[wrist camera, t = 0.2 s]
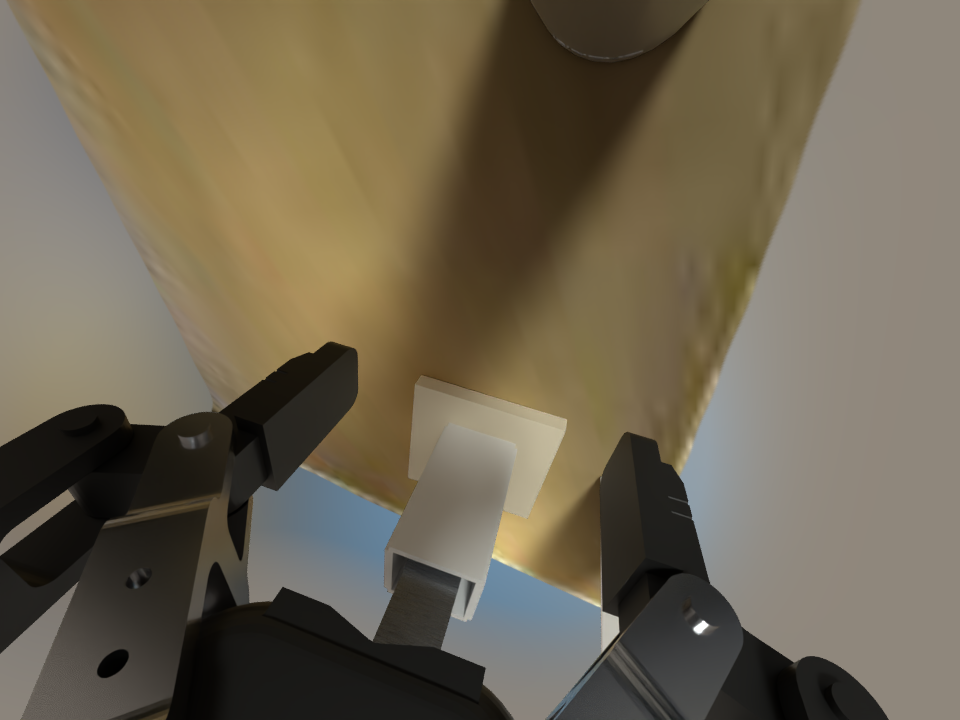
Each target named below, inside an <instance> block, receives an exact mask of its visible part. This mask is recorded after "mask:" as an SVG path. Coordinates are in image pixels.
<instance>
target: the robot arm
mask: <svg viewBox="0 0 960 720" xmlns="http://www.w3.org/2000/svg"><path fill="white" fill-rule="evenodd" d="M530 1H531V3H532V5H533V6H534V8H535V10H536V11H537V13H538V15H539V16H540V18H541V20H542V21H543V23H544V25H545V26H546V28H547V30H548V31H549V32H550V33H551V34H552V35H553V37H554V38H555V39H556V40H557V41H558V42H559V44H560V45H561V46H563V47H564V48H566V49H567V50H569V51H570V52H572V53H573V54H575V55H576V56H579V57H582V58H585V59H588V60H591V61H594V62H617V61H622V60H627V59H632V58H635V57H637V56H639V55H641V54H643V53H646V52H648V51H650V50H652V49H654V48H656V47H657V46H658V45H660V44H661V43H663V42H664V41H665V40H667V39H668V38H670V37H671V36H673V35H674V34H675V33H676V32H677V31H678V30H679V29H680V28H681V27H682V26H683V25H684V24H685V23H686V22H687V21H688V20H689V19H690V18H691V17H692V16H693V15H694V14H695V13H696V12H697V11H698V10H700V9H701V8H702V7H703V6H704V5H705V4H706V3H707V2H708V1H709V0H530ZM357 393H358V355H357V351H356V349H354V348H351V347H348V346H345V345H341V344H338V343H335V342H328V343H326V344H325V345H324V346H322V347H321V348H320V349H318V350H317V351H316V352H315V353H310V352H308V353H306V354H303V355H300V356H298V357H295V358H292V359H290V360H289V361H288V362H286V363H285V364H284V365H282V366H281V367H280V368H278V369H277V371H276V372H275V371H274V372H273V373H271V374H270V375H269V376H267V377H266V379H265V380H262V381H261V382H259V383H258V384H257V385H255V386H254V387H253V388H251V389H250V390H248V391H247V392H246V393H244V394H243V395H242V396H240V397H239V398H238V399H236V400H235V401H234V402H232V403H231V404H230V405H228V406H227V407H226V408H224V409H223V410H221V411H220V412H219V413H216V412H199V413H194V414H190V415H186V416H183V417H181V418H179V419H176V420H175V421H173V422H171V423H170V424H168V425H167V426H155V425H137V424H130V423H129V421H128V419H127V417H126V415H125V413H124V412H123V410H122V409H120V408H119V407H116V406H113V405H106V404H98V405H88V406H83V407H79V408H75V409H72V410H69V411H66V412H63V413H61V414H59V415H57V416H55V417H53V418H51V419H49V420H47V421H46V422H44V423H42V424H40V425H39V426H37V427H35V428H33V429H31V430H29V431H28V432H26V433H24V434H22V435H21V436H19V437H17V438H15V439H13V440H12V441H10V442H8V443H6V444H4V445H3V446H1V447H0V543H1V541H2V539H3V538H4V537H5V536H6V534H8V533H9V532H10V531H11V530H12V529H13V528H14V527H16V526H17V525H19V524H20V523H21V522H23V521H24V520H26V519H27V518H28V517H30V516H31V515H32V514H34V513H35V512H37V511H38V510H39V509H40V508H42V507H44V506H45V505H46V504H48V503H49V502H51V501H52V500H53V499H55V498H56V497H57V496H59V495H60V494H62V493H63V492H64V491H66V490H67V489H68V490H69V492H70V493H71V494H72V496H73V497H74V499H75V500H74V501H73V502H71V503H70V504H69V505H67V506H66V507H65V508H63V509H62V510H61V511H59V512H58V513H57V514H56V515H54V516H53V517H51V518H50V519H49V520H47V521H46V522H45V523H43V524H42V525H41V526H39V527H38V528H37V529H36V530H34V531H33V532H31V533H30V534H29V535H28V536H26V537H25V538H24V539H22V540H21V541H20V542H18V543H17V544H16V545H14V546H13V547H12V548H10V549H9V550H8V551H6V552H5V553H4V554H2V555H1V556H0V653H1V652H2V651H4V650H5V649H6V648H7V647H8V646H9V645H10V644H11V643H12V642H13V641H14V640H15V639H16V638H18V637H19V636H20V635H21V634H22V633H23V632H24V631H25V630H26V629H27V628H28V627H29V626H31V625H32V624H33V623H34V622H35V621H36V620H37V619H38V618H39V617H40V616H41V615H42V614H44V613H45V612H46V611H47V610H48V609H49V608H50V607H51V606H52V605H53V604H54V603H55V602H57V601H58V600H59V599H60V598H61V597H62V596H63V595H64V594H65V593H66V592H67V591H68V590H70V589H71V588H72V587H73V586H74V585H75V584H76V583H77V582H78V581H79V582H78V584H77V587H76V589H75V592H74V594H73V596H72V599H71V601H70V604H69V606H68V608H67V611H66V613H65V616H64V618H63V620H62V623H61V625H60V627H59V630H58V632H57V635H56V637H55V639H54V642H53V644H52V647H51V649H50V651H49V654H48V656H47V659H46V661H45V663H44V666H43V668H42V670H41V673H40V675H39V678H38V680H37V682H36V685H35V687H34V690H33V692H32V694H31V697H30V699H29V702H28V704H27V706H26V709H25V711H24V714H23V717H22V718H21V720H514V719H513V717H512V716H511V714H510V713H509V712H508V711H507V709H506V708H505V706H504V705H503V703H502V702H501V701H500V700H499V699H498V698H497V697H496V696H495V695H494V694H493V693H492V692H491V691H490V690H489V689H488V688H486V687H485V686H484V685H483V679H484V673H485V667H482V666H480V665H477V664H475V663H472V662H470V661H467V660H465V659H462V658H460V657H457V656H455V655H452V654H450V653H447V652H445V651H442V650H440V649H437V648H435V647H428V646H412V645H396V644H380V643H375V642H372V641H371V640H369V639H368V638H367V637H366V636H364V635H363V634H362V633H361V632H360V631H359V630H357V629H356V628H355V627H354V626H353V625H352V624H350V623H349V622H348V621H347V620H346V619H345V618H343V617H342V616H341V615H340V614H339V613H338V612H337V611H335V610H334V609H333V608H332V607H331V606H329V605H327V604H324V603H322V602H319V601H317V600H314V599H312V598H309V597H307V596H304V595H302V594H299V593H297V592H294V591H292V590H289V589H286V588H284V587H282V589H281V590H280V592H279V593H278V594H277V596H276V597H275V599H274V600H273V602H269V601H267V602H254V603H249V586H248V577H247V564H248V554H249V542H250V531H251V519H252V507H253V496H252V494H253V493H254V492H255V491H256V490H257V489H258V488H259V487H260V486H264V487H267V488H270V489H273V490H275V491H277V490H279V488H280V487H281V486H282V485H283V484H284V483H285V482H286V480H287V479H288V478H289V477H290V476H291V475H292V474H293V473H294V472H295V470H296V469H297V468H298V467H299V466H300V465H301V464H302V463H303V461H304V460H305V459H306V458H307V457H308V456H309V455H310V454H311V452H312V451H313V450H314V449H315V448H316V447H317V446H318V445H319V443H320V442H321V441H322V440H323V439H324V438H325V437H326V435H327V434H328V433H329V432H330V431H331V430H332V429H333V428H334V426H335V425H336V424H337V423H338V422H339V421H340V420H341V419H342V417H343V416H344V415H345V414H346V413H347V412H348V411H349V410H350V408H351V407H352V406H353V404H354V402H355V400H356V397H357ZM600 524H601V570H602V611H603V612H606V613H608V614H611V615H614V616H617V617H619V633H618V634H617V635H616V636H615V638H614V639H613V640H612V641H611V642H610V644H609V645H608V646H607V647H606V648H605V650H604V651H603V652H602V653H601V654H600V656H599V657H598V658H597V659H596V660H595V662H594V663H593V664H592V665H591V666H590V668H589V669H588V670H587V671H586V672H585V674H584V675H583V676H582V677H581V679H580V680H579V681H578V682H577V683H576V684H575V686H574V687H573V688H572V689H571V691H570V692H569V693H568V694H567V695H566V696H565V697H564V699H563V700H562V701H561V702H560V703H559V704H558V706H557V707H556V708H555V709H554V710H553V711H552V712H551V713H550V715H549V716H548V717H547V718H546V719H545V720H889V719H888V718H887V716H886V715H885V713H884V712H883V710H882V708H881V707H880V706H879V705H878V703H877V702H876V700H875V699H874V698H873V697H872V696H871V695H870V694H869V692H868V691H867V690H866V689H865V688H864V687H863V686H862V685H861V684H860V683H859V682H858V681H857V680H856V679H855V678H854V677H852V676H851V675H850V674H849V673H847V672H846V671H845V670H843V669H842V668H841V667H839V666H837V665H836V664H834V663H832V662H830V661H828V660H826V659H823V658H820V657H815V656H808V657H805V658H802V659H801V660H799V661H797V662H795V663H794V662H792V661H791V660H789V659H788V658H786V657H785V656H783V655H782V654H780V653H779V652H777V651H776V650H774V649H773V648H771V647H770V646H768V645H767V644H765V643H764V642H762V641H761V640H759V639H758V638H756V637H755V636H753V635H752V634H750V633H749V632H748V631H746V630H745V629H744V628H743V627H741V624H740V622H739V619H738V617H737V615H736V613H735V611H734V609H733V608H732V606H731V605H730V603H729V602H728V601H727V600H726V599H725V597H724V596H723V595H722V594H721V593H720V592H719V591H718V590H717V589H716V588H714V587H713V586H712V585H711V584H710V582H709V578H708V575H707V571H706V567H705V563H704V559H703V556H702V552H701V548H700V544H699V540H698V537H697V533H696V529H695V525H694V521H693V520H692V514H691V510H690V506H689V505H688V499H687V495H686V491H685V487H684V483H683V482H682V480H681V479H680V477H679V476H678V474H677V473H676V471H675V470H674V468H673V467H672V465H669V464H666V463H663V462H661V459H660V454H659V450H658V445H657V442H656V441H655V440H653V439H649V438H646V437H643V436H639V435H636V434H633V433H629V432H626V433H624V434H623V436H622V437H621V439H620V441H619V443H618V445H617V447H616V448H615V450H614V452H613V454H612V456H611V458H610V459H609V461H608V463H607V465H606V467H605V469H604V471H603V474H602V478H601V483H600Z"/></svg>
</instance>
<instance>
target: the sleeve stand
mask: <svg viewBox="0 0 960 720" xmlns="http://www.w3.org/2000/svg"><path fill="white" fill-rule="evenodd" d="M566 423H567V419H564V418H561V417H557V416H554V415H551V414H548V413H544V412H541V411H538V410H535V409H531V408H528V407H525V406H521V405H518V404H515V403H512V402H508V401H505V400H502V399H499V398H495V397H492V396H489V395H486V394H482V393H479V392H476V391H472V390H469V389H466V388H463V387H459V386H456V385H453V384H450V383H446V382H443V381H440V380H437V379H433V378H430V377H427V376H423V375H421V376H420V378H419V379H418V380H417V382H416V383H415V390H414V403H413V416H412V429H411V443H410V456H409V469H408V478H410V479H413V480H416V481H418V483H417V485H416V487H415V489H414V491H413V493H412V495H411V497H410V499H409V501H408V503H407V505H406V507H405V509H404V511H403V513H402V515H401V518H400V519H399V522H398V524H397V526H396V528H395V530H394V532H393V534H392V536H391V538H390V540H389V542H388V544H387V546H386V548H385V565H384V587H385V588H388V591H387V592H390V593H392V594H393V593H394V590H395V588H396V586H397V583H398V581H399V579H400V576H401V574H402V572H403V569H404V567H405V565H406V562H407V560H408V558H409V559H412V560H415V561H417V562H420V563H423V564H426V565H428V566H431V567H434V568H436V569H439V570H442V571H444V572H447V573H450V574H452V575H455V576H458V577H461V582H460V585H459V589H458V592H457V595H456V599H455V602H454V606H453V609H452V612H451V616H452V617H454V618H457V619H459V620H462V621H465V622H466V621H467V619H469V620H472V617H473V614H474V612H475V609H476V607H477V604H478V601H479V599H480V596H481V594H482V591H483V588H484V585H485V581H486V577H487V573H488V569H489V565H490V561H491V557H492V553H493V549H494V544H495V540H496V536H497V532H498V528H499V524H500V520H501V515H502V511H506V512H509V513H512V514H515V515H518V516H521V517H524V518H527V519H528V516H529V514H530V512H531V509H532V507H533V505H534V503H535V500H536V498H537V496H538V493H539V491H540V489H541V486H542V484H543V482H544V480H545V477H546V475H547V473H548V470H549V468H550V466H551V464H552V461H553V459H554V457H555V454H556V452H557V450H558V447H559V445H560V443H561V441H562V438H563V436H564V434H565V431H566Z"/></svg>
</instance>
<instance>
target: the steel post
mask: <svg viewBox="0 0 960 720" xmlns="http://www.w3.org/2000/svg"><path fill="white" fill-rule="evenodd" d="M460 582H461V577H458V576H455V575H452V574H450V573H447V572H444V571H442V570H439V569H436V568H434V567H431V566H428V565H426V564H423V563H420V562H417V561H415V560H412V559H409V558H408V560H407V562H406V565H405V567H404V569H403V572H402V574H401V576H400V579H399V581H398V583H397V586H396V588H395V590H394V593H393V595H392V597H391V600H390V602H389V604H388V607H387V609H386V612H385V614H384V616H383V618H382V621H381V623H380V626H379V628H378V630H377V632H376V635H375V637H374V639H373V642H375V643H380V644H396V645H412V646H428V647H435V648H437V649H440V650H441V646H442V643H443V639H444V636H445V632H446V629H447V626H448V622H449V619H450V616H451V612H452V609H453V606H454V602H455V599H456V595H457V592H458V589H459V585H460Z"/></svg>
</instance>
